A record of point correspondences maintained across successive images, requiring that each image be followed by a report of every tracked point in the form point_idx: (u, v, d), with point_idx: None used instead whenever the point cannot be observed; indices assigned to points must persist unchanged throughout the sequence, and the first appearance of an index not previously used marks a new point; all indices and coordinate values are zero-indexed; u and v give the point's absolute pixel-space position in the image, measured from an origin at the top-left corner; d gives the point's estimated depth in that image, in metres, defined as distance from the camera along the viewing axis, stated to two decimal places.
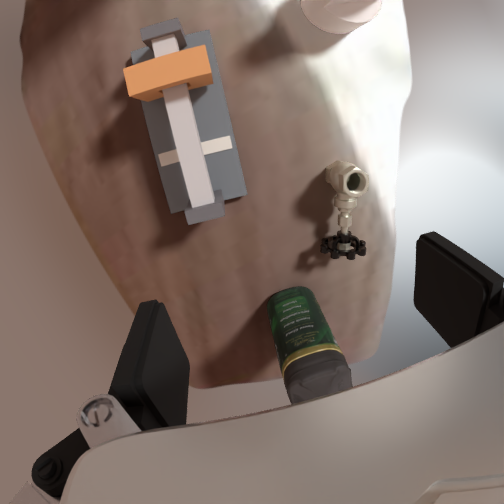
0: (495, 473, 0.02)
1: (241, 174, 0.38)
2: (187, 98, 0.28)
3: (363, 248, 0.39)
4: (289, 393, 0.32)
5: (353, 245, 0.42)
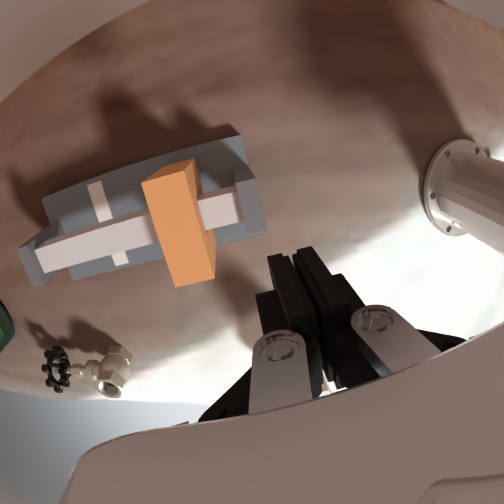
0: (495, 473, 0.02)
1: (91, 274, 0.31)
2: (150, 242, 0.24)
3: (60, 390, 0.33)
4: None
5: (62, 376, 0.35)
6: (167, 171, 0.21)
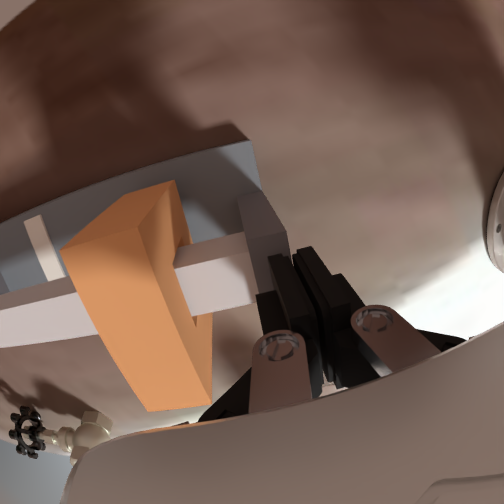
0: (495, 473, 0.02)
1: None
2: None
3: (34, 456, 0.22)
4: None
5: None
6: (116, 217, 0.11)
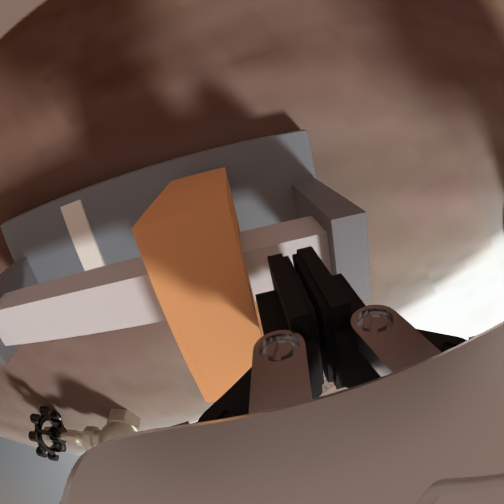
0: (495, 473, 0.02)
1: None
2: None
3: (55, 458, 0.23)
4: None
5: None
6: (184, 197, 0.11)
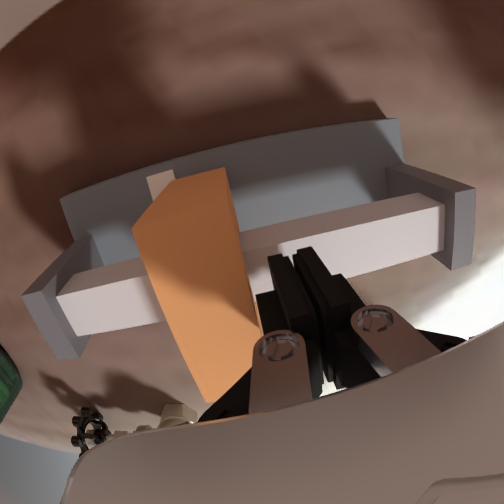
0: (495, 473, 0.02)
1: None
2: None
3: None
4: None
5: None
6: (184, 197, 0.11)
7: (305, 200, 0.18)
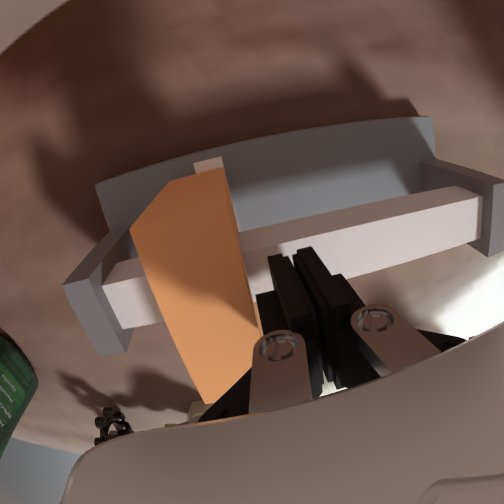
0: (495, 473, 0.02)
1: None
2: (363, 271, 0.13)
3: None
4: None
5: None
6: (183, 198, 0.11)
7: (349, 191, 0.18)
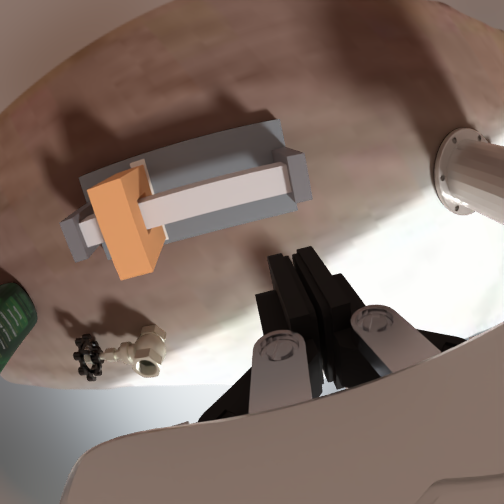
0: (495, 473, 0.02)
1: None
2: (203, 212, 0.26)
3: (93, 378, 0.35)
4: None
5: (93, 364, 0.37)
6: (111, 178, 0.23)
7: (220, 173, 0.31)
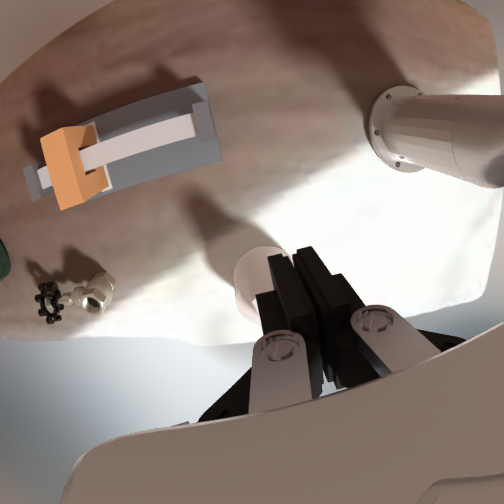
0: (495, 473, 0.02)
1: None
2: (128, 155, 0.29)
3: (51, 321, 0.38)
4: None
5: (54, 310, 0.40)
6: None
7: None
